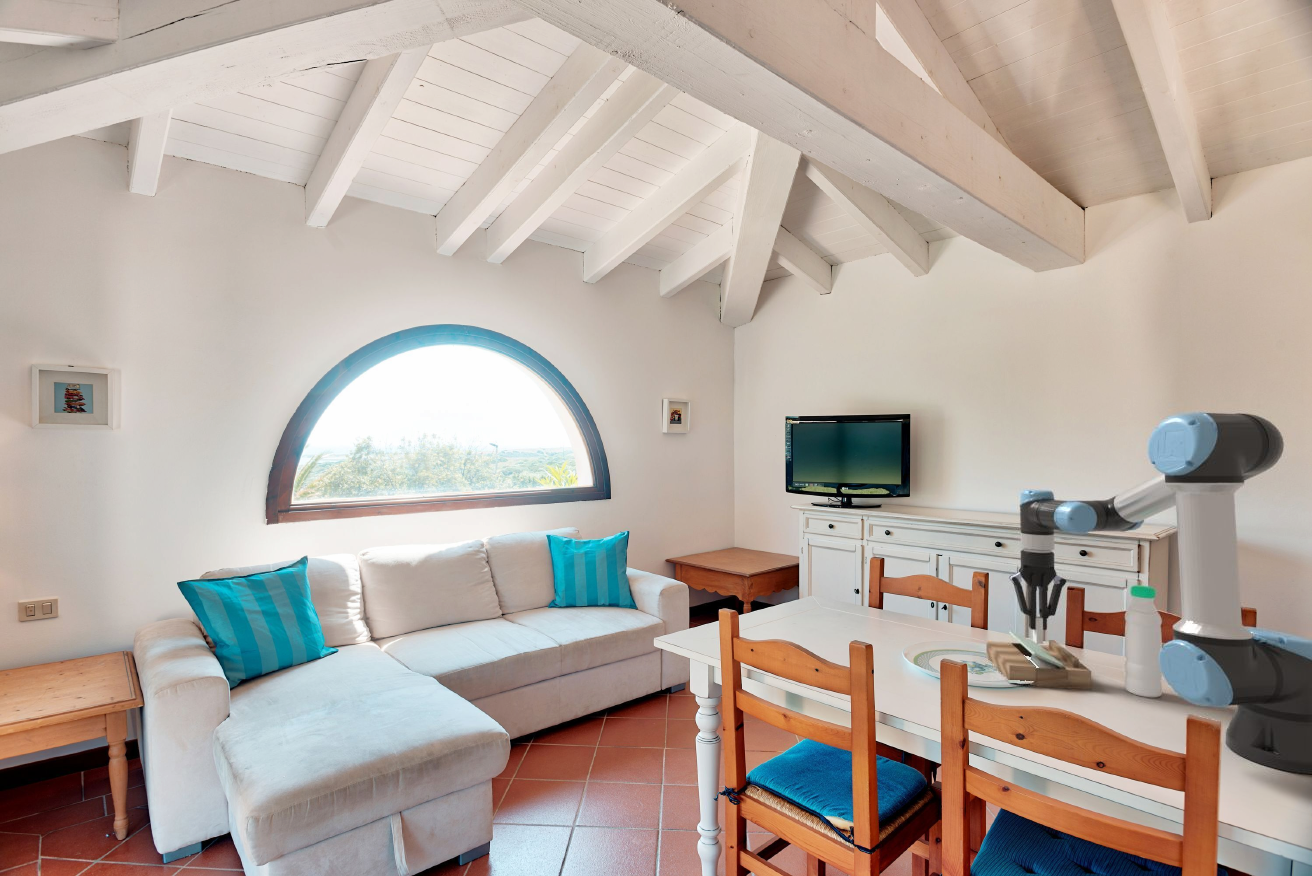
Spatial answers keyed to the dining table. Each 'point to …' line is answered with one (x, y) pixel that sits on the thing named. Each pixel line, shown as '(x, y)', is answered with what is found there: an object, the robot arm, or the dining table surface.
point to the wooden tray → (1020, 668)
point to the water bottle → (1143, 644)
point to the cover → (1036, 649)
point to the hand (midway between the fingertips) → (1037, 642)
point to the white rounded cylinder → (1042, 662)
